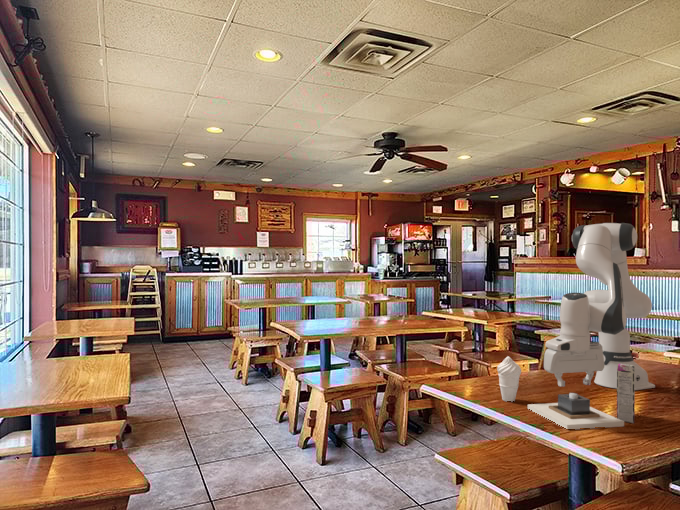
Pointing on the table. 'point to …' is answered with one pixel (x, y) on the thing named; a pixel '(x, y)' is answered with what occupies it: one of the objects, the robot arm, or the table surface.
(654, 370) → the table surface
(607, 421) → the post board
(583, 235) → the robot arm
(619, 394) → the candy bar box
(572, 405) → the grey square tube
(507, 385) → the soft serve ice cream cone
